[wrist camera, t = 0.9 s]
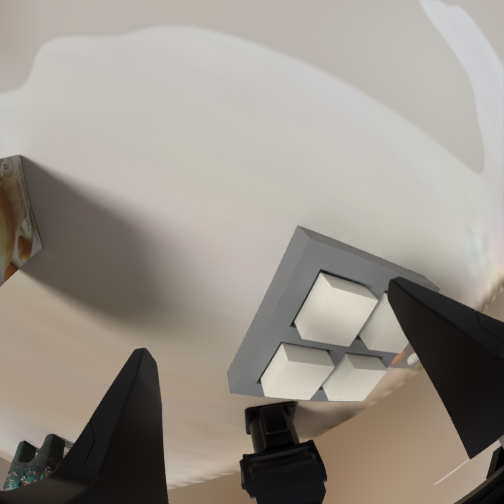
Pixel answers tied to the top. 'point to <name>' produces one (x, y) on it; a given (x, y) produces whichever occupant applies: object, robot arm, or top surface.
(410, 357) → the pattern card
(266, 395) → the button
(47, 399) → the top surface
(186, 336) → the top surface
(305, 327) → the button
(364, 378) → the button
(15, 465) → the ceramic cat
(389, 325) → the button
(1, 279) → the coffee box
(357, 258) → the control panel
